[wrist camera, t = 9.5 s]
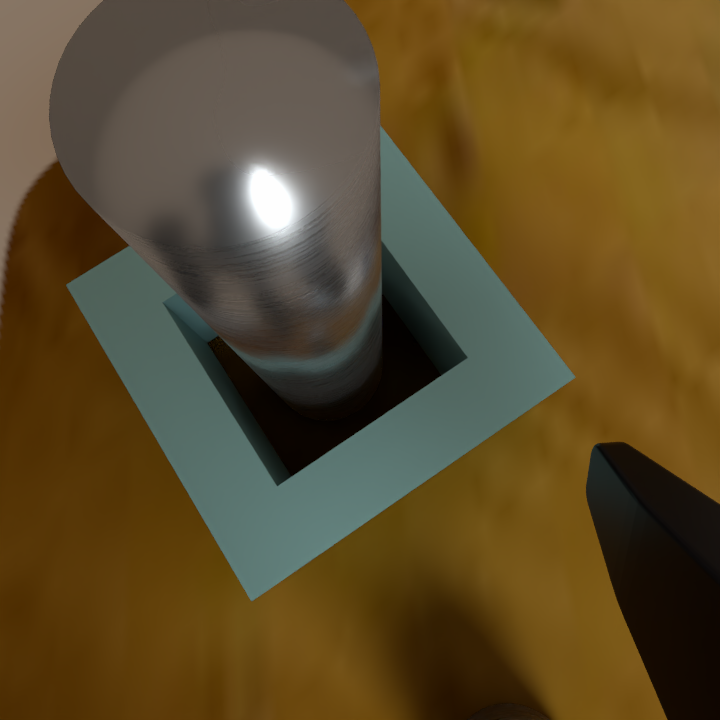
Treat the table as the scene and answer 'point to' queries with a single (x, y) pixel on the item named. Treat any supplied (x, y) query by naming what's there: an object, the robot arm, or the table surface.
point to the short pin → (508, 713)
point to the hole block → (368, 446)
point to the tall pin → (241, 175)
